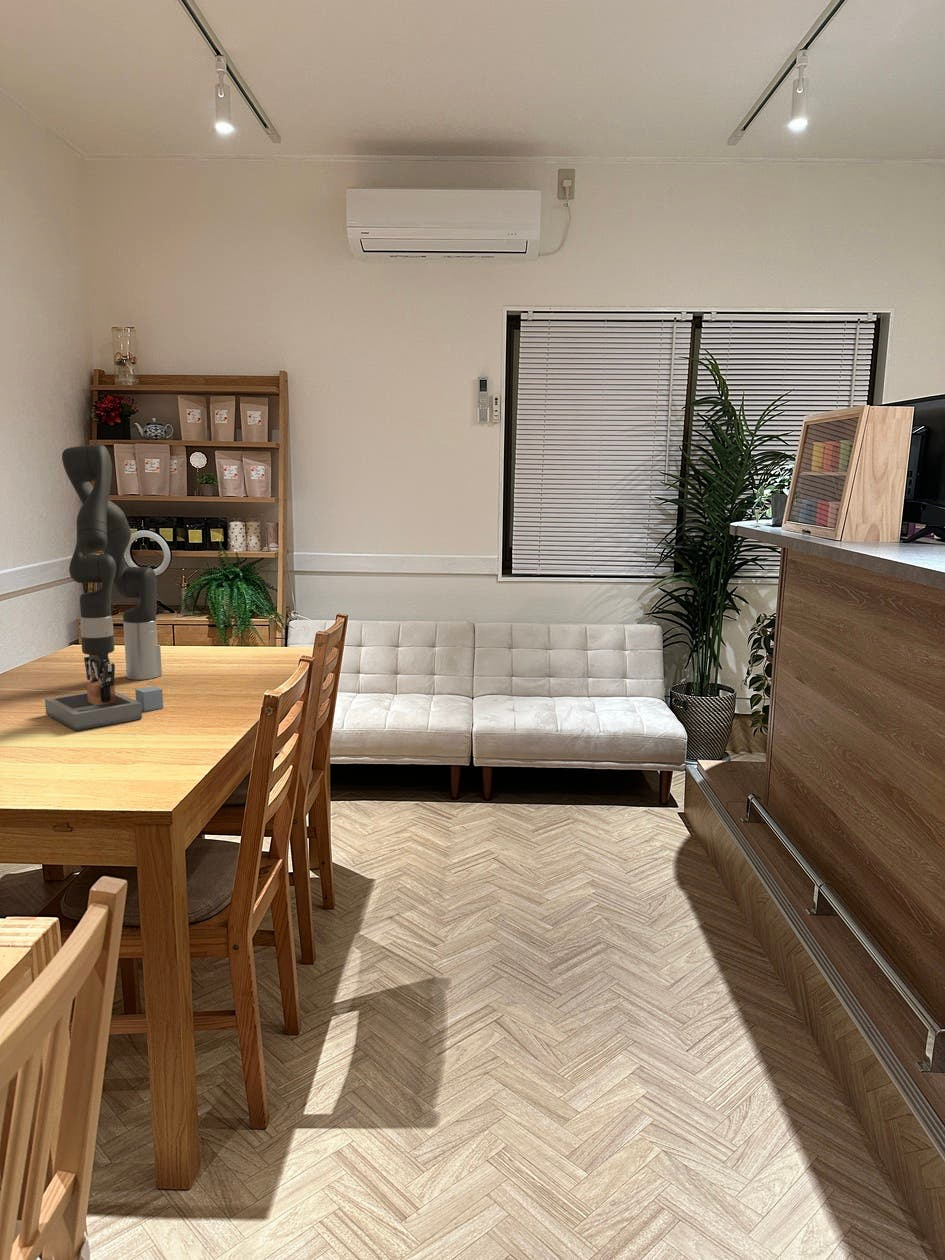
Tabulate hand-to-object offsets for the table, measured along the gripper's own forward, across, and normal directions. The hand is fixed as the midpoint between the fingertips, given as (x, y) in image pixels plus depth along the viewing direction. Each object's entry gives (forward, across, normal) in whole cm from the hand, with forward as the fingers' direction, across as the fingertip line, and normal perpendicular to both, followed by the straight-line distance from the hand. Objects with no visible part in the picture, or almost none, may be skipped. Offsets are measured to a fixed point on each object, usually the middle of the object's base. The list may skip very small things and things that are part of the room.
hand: (101, 699), depth 218 cm
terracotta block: (+1, 0, 0) cm, 1 cm away
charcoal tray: (+3, -2, +3) cm, 5 cm away
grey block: (+4, -3, -11) cm, 12 cm away
